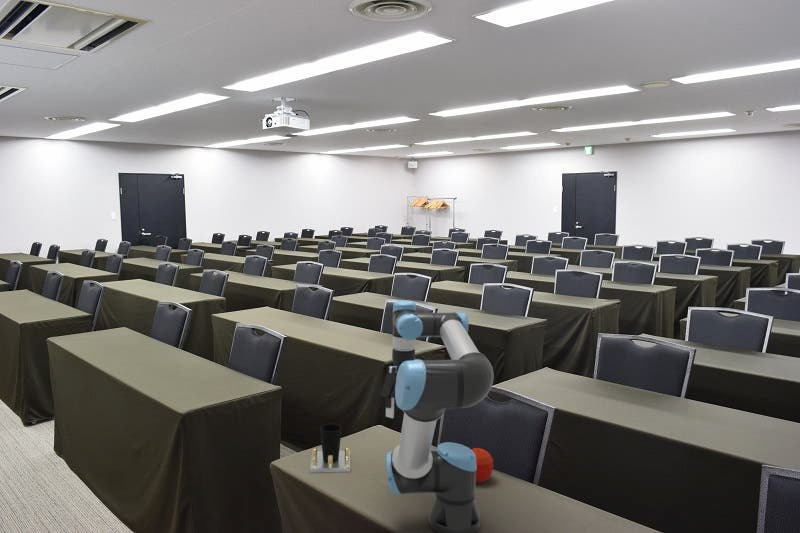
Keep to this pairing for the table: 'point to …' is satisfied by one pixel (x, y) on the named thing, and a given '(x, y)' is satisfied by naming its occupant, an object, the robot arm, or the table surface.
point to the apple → (483, 465)
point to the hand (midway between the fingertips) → (402, 411)
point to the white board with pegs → (330, 462)
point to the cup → (330, 441)
